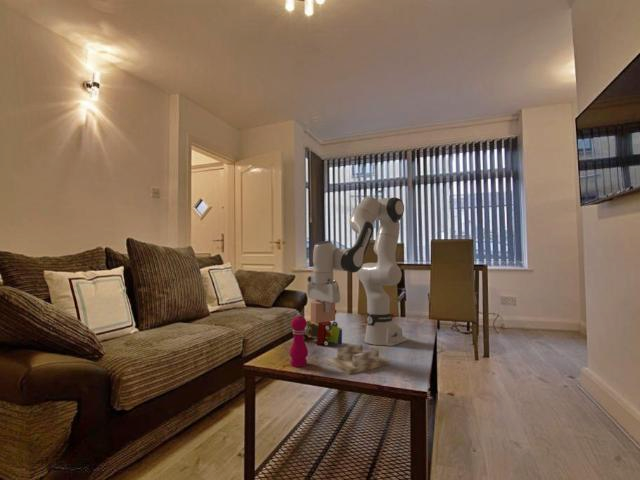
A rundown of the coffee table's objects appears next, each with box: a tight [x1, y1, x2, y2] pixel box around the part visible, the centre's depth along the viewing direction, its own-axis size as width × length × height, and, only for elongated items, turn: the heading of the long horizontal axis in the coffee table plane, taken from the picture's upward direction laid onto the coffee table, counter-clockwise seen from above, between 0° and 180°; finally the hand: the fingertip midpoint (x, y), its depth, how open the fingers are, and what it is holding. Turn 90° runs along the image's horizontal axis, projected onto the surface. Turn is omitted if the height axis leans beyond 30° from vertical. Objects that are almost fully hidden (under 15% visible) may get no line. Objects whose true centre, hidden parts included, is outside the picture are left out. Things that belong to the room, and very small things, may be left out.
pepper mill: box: [289, 312, 309, 368], centre depth 128 cm, size 7×7×20 cm
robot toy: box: [304, 309, 343, 347], centre depth 159 cm, size 17×9×20 cm
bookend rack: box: [326, 344, 390, 375], centre depth 129 cm, size 20×14×6 cm
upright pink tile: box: [310, 301, 336, 323], centre depth 140 cm, size 10×4×8 cm, turn 123°
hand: (323, 311), depth 140 cm, fingers closed on upright pink tile, 4 cm apart
